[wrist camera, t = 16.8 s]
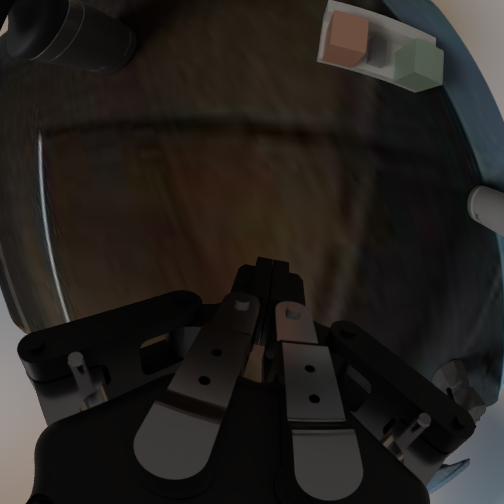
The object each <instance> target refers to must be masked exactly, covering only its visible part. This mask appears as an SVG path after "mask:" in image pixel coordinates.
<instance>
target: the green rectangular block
mask: <svg viewBox="0 0 504 504" xmlns="http://www.w3.org/2000/svg"><path fill="white" fill-rule="evenodd" d="M443 63H444V51H443V50H441V49H439V48H437V47H435V46H433V45H431V44H429V43H427V42H425V41H422V40H420V39H418V38H415V39H413V40H412V41H411V42H409V43H408V44H406V45H405V46H404V47H402V48H401V49H399V50H398V51H397V52H396V58H395V68H394V78H393V82H395V83H397V84H400V85H402V86H405V87H407V88H410V89H412V90H415V91H417V92H419V91H423V90H426V89H429V88H433V87H436V86H440V85H442V82H443Z"/></svg>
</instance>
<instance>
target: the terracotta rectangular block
mask: <svg viewBox="0 0 504 504" xmlns="http://www.w3.org/2000/svg"><path fill="white" fill-rule="evenodd" d="M368 24H369V19H366V18H363V17H359V16H356V15H352V14H349V13H345V12H341V11H337V10H334V12H333V15H332V17H331V20H330V22H329V25H328V28H327V30H326V37H325V44H324V51H323V57H322V61H325V62H329V63H333V64H337V65H341V66H345V67H349V68H352V67H353V66H354V65H355V64H356V63H357V62H358V61H359V60H360V59H361V58H362V57H363V56H364V55H365V54H366V46H367V36H368Z"/></svg>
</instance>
